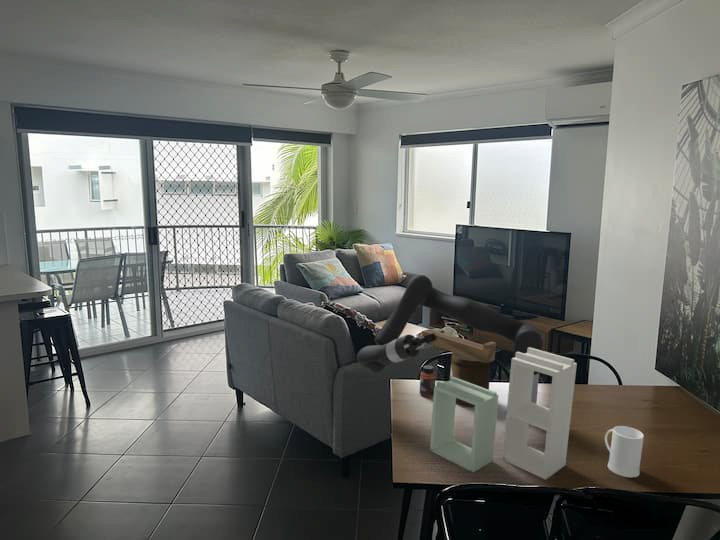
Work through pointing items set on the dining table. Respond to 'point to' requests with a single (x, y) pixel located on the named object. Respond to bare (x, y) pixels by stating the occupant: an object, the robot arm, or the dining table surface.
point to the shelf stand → (539, 412)
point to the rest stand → (481, 428)
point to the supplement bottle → (427, 381)
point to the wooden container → (470, 373)
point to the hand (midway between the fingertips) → (439, 335)
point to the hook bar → (463, 346)
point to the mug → (625, 451)
